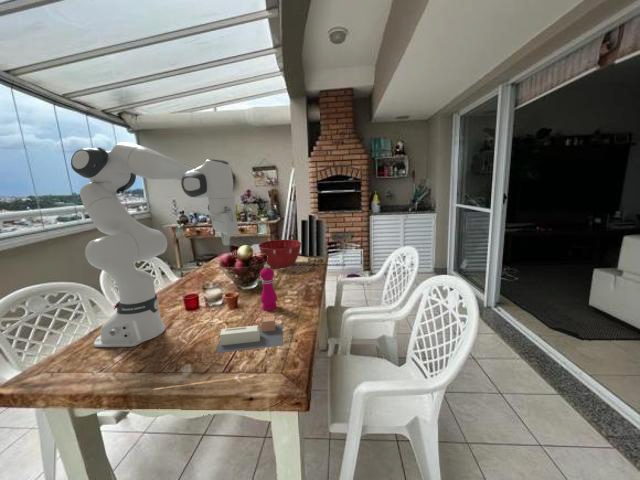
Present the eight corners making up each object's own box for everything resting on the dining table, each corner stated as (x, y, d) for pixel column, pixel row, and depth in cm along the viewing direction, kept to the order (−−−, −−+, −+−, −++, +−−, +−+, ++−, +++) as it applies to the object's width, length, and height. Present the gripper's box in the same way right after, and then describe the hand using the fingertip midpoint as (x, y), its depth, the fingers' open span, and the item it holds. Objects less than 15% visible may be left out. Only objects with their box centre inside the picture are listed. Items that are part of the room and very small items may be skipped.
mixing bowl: (311, 264, 193) (310, 242, 190) (277, 275, 173) (276, 250, 170) (284, 258, 213) (283, 238, 210) (251, 267, 192) (249, 244, 189)
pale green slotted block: (221, 345, 98) (219, 334, 97) (223, 339, 102) (221, 328, 101) (259, 341, 100) (258, 330, 99) (260, 335, 103) (259, 324, 103)
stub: (261, 332, 106) (261, 321, 105) (262, 326, 109) (261, 316, 109) (275, 330, 106) (274, 320, 106) (275, 325, 110) (274, 315, 109)
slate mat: (215, 354, 93) (215, 353, 93) (223, 331, 108) (223, 330, 108) (283, 346, 96) (283, 345, 96) (281, 325, 111) (281, 324, 111)
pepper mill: (274, 311, 123) (271, 267, 119) (258, 311, 125) (255, 267, 121) (280, 304, 130) (277, 262, 126) (265, 304, 131) (261, 262, 128)
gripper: (240, 207, 94) (244, 247, 97) (223, 204, 111) (226, 239, 113) (221, 208, 91) (225, 250, 93) (206, 205, 107) (210, 241, 110)
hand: (226, 244), depth 103 cm, fingers closed
